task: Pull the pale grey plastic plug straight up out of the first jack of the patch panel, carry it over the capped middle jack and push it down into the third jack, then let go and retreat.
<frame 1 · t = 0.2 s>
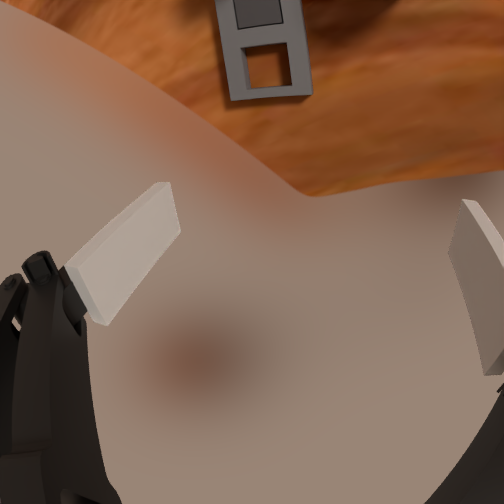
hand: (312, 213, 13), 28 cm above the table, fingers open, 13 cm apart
panel: (261, 8, 28), on the table
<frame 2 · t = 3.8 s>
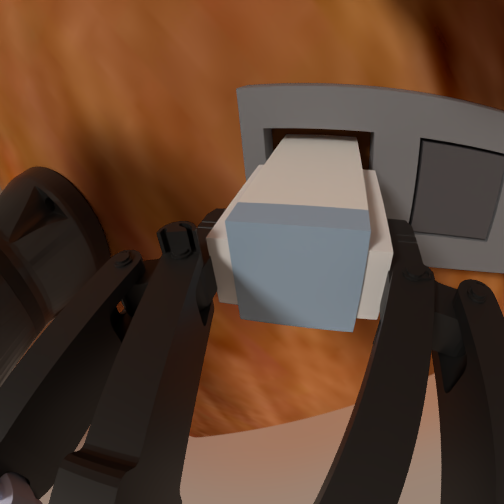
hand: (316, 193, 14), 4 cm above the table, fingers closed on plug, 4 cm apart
plug: (321, 167, 17), resting in panel, touching gripper
panel: (449, 180, 15), on the table
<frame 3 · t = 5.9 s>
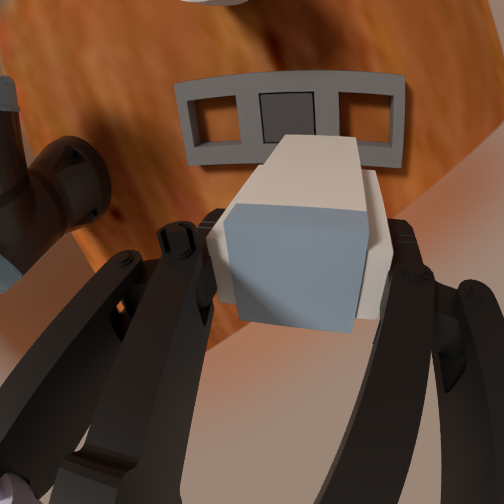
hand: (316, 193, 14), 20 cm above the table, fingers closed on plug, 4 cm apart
plug: (320, 168, 17), point 16 cm above the table, touching gripper
panel: (290, 114, 30), on the table
when the fingers open (5 cm above the table, at t = 8.4 s): plug drops 1 cm, resting in panel.
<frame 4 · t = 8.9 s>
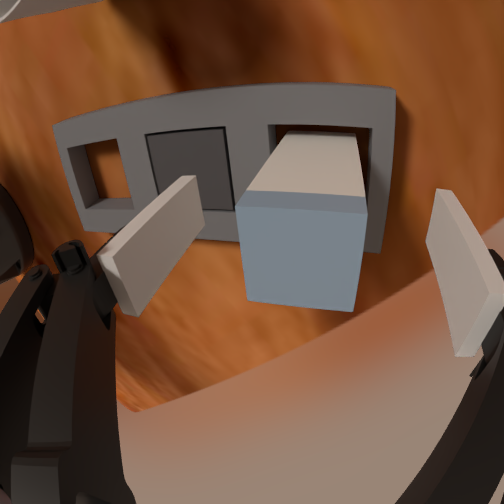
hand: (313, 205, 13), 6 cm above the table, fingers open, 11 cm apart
plug: (322, 162, 18), resting in panel
panel: (201, 161, 20), on the table
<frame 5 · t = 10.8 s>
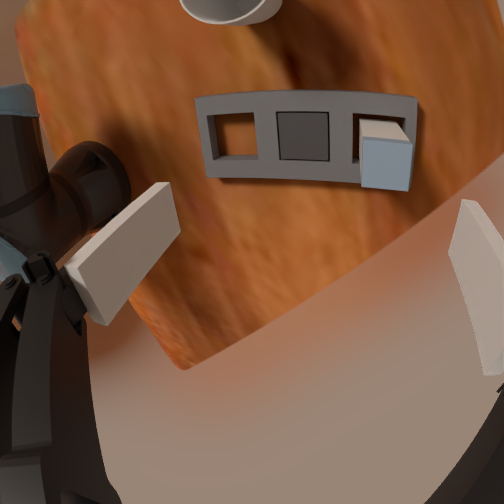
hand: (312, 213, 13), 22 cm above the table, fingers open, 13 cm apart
plug: (377, 136, 30), resting in panel
panel: (305, 132, 32), on the table
cup: (258, 0, 24), on the table
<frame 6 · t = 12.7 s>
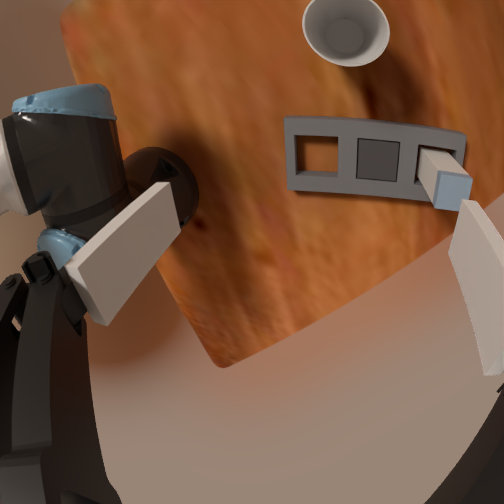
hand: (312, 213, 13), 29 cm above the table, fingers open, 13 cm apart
plug: (431, 162, 35), resting in panel
panel: (376, 155, 37), on the table
cup: (344, 36, 29), on the table
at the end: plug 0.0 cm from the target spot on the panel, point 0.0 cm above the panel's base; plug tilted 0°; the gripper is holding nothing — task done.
